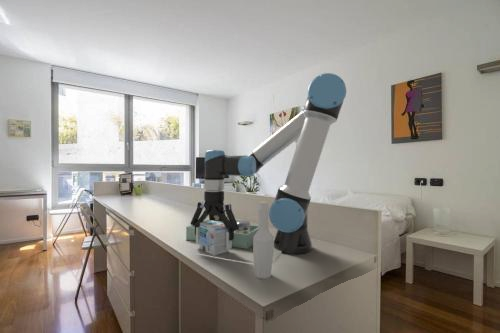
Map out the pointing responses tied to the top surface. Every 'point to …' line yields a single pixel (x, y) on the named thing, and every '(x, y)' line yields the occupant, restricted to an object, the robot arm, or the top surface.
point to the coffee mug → (215, 217)
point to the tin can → (243, 227)
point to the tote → (239, 238)
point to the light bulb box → (213, 237)
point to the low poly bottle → (263, 244)
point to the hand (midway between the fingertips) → (213, 246)
